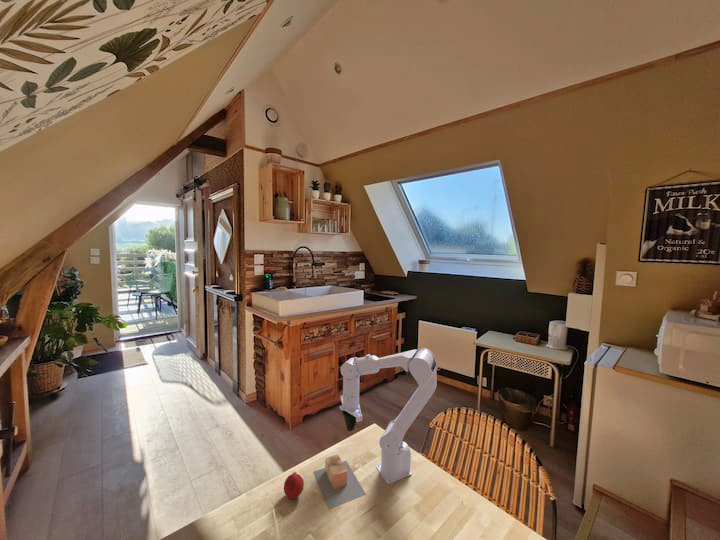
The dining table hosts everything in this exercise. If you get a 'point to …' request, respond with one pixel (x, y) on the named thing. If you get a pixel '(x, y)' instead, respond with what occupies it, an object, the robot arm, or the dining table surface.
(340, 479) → the beech block
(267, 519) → the dining table surface
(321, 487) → the mat
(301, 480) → the onion
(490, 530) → the dining table surface
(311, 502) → the dining table surface
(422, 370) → the robot arm
